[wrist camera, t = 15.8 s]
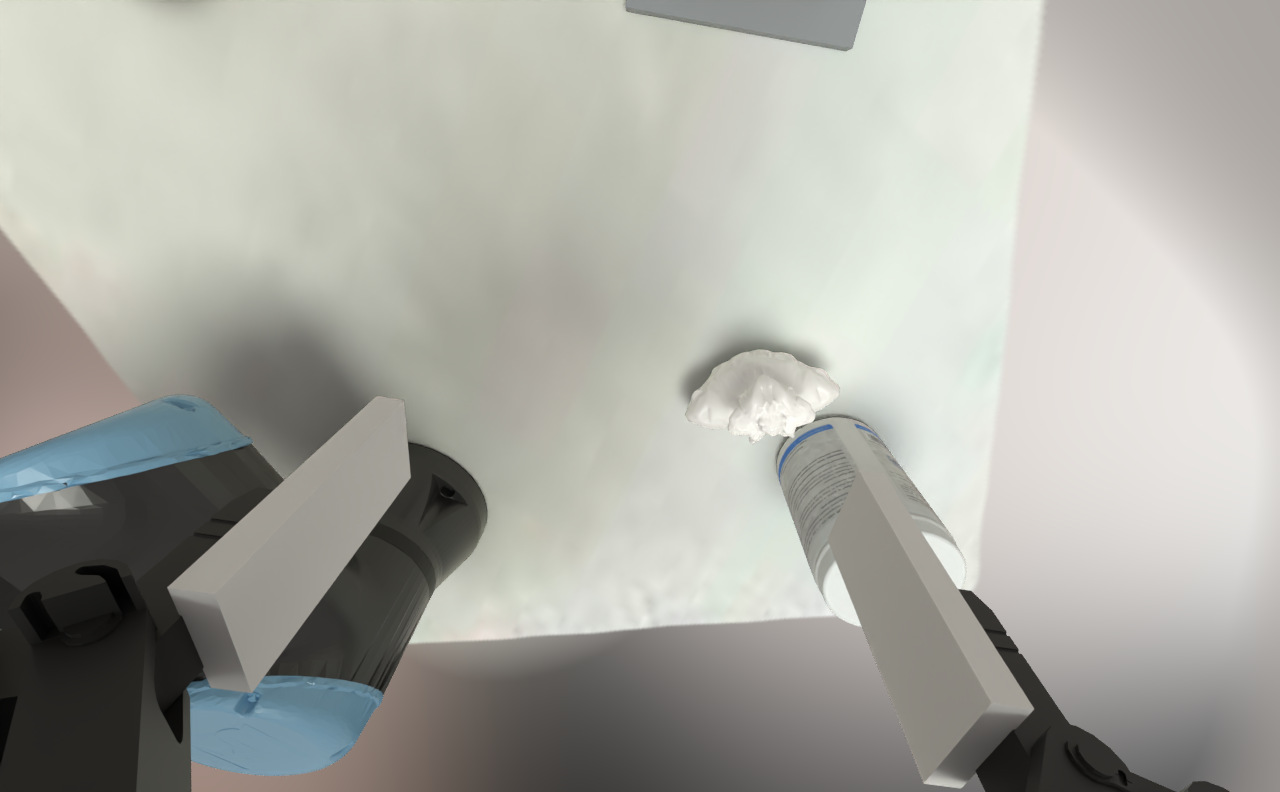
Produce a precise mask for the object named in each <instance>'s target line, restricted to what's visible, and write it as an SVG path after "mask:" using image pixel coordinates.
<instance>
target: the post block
mask: <svg viewBox="0 0 1280 792" xmlns="http://www.w3.org/2000/svg"><path fill="white" fill-rule="evenodd" d="M865 3H866V0H626V10H627V12H633V13H639V14H644V15H650V16H655V17H661V18H666V19H672V20H677V21H683V22H688V23H694V24H699V25H705V26H710V27H716V28H721V29H727V30H732V31H738V32H743V33H749V34H754V35H760V36H765V37H771V38H776V39H782V40H787V41H793V42H799V43H804V44H810V45H815V46H821V47H826V48H832V49H837V50H843V51H847V50H850V49H852V48H853V44H854V41H855V37H856V34H857V31H858V27H859V24H860V20H861V17H862V14H863V10H864V7H865Z"/></svg>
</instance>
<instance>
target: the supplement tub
mask: <svg viewBox="0 0 1280 792" xmlns="http://www.w3.org/2000/svg"><path fill="white" fill-rule="evenodd" d="M794 433H795V435H794V437H793V438H791V437H789V438H788V439H787V441H786V442H785V443H784V445H783V446H782V448H781V450H780V452H779V456H778V459H777V475H778V478H779V481H780V484H781V487H782V490H783V493H784V496H785V499H786V502H787V504H788V507H789V510H790V513H791V516H792V519H793V521H794V524H795V527H796V530H797V533H798V535H799V538H800V541H801V544H802V547H803V549H804V552H805V555H806V558H807V561H808V564H809V566H810V569H811V572H812V574H813V577H814V580H815V582H816V584H817V586H818V588H819V590H820V592H821V593H822V595H823V598H824V600H825V602H826V604H827V606H828V607H829V609H830V610H831V611H832V612H833V613H834V614H835V615H836V616H838V617H839V618H841V619H842V620H844V621H846V622H848V623H850V624H853V625H856V626H860V627H862V626H861V624H860V621H859V619H858V616H857V614H856V611H855V609H854V606H853V603H852V601H851V598H850V596H849V593H848V591H847V588H846V586H845V583H844V581H843V578H842V576H841V573H840V571H839V568H838V566H837V563H836V561H835V558H834V556H833V553H832V550H831V548H830V545H829V543H828V540H827V539H828V537H829V535H830V533H831V530H832V528H833V526H834V524H835V521H836V519H837V517H838V515H839V513H840V510H841V508H842V506H843V504H844V501H845V499H846V497H847V495H848V493H849V490H850V488H851V486H852V484H853V481H854V479H855V477H856V475H857V473H858V470H862V471H868V472H875V473H881V474H885V476H886V477H887V479H888V481H889V482H890V484H891V485H892V487H893V488H894V490H895V491H896V493H897V495H898V496H899V498H900V499H901V501H902V502H903V504H904V506H905V507H906V509H907V510H908V512H909V513H910V515H911V517H912V518H913V520H914V521H915V523H916V524H917V526H918V527H919V529H920V531H921V532H922V534H923V535H924V537H925V538H926V540H927V542H928V543H929V545H930V546H931V548H932V549H933V551H934V553H935V554H936V556H937V557H938V559H939V560H940V562H941V564H942V565H943V567H944V568H945V570H946V571H947V573H948V574H949V576H950V578H951V579H952V581H953V582H954V584H955V585H956V587H957V589H961V588H962V587H963V584H964V581H965V578H966V564H965V560H964V557H963V555H962V553H961V552H960V550H959V549H958V547H957V545H956V542H955V540H954V539H953V537H952V535H951V534H950V533H949V531H948V530H947V529H946V527H945V526H944V525H943V523H942V522H941V520H940V519H939V518H938V516H937V515H936V514H935V512H934V511H933V509H932V508H931V507H930V505H929V504H928V503H927V501H926V500H925V499H924V497H923V496H922V495H921V493H920V492H919V491H918V489H917V488H916V487H915V485H914V484H913V482H912V481H911V480H910V478H909V477H908V476H907V474H906V473H905V472H904V470H903V469H902V468H901V466H900V465H899V464H898V462H897V461H896V460H895V458H894V457H893V456H892V454H891V453H890V451H889V450H888V449H887V447H886V446H885V445H884V443H883V442H882V441H881V439H880V438H879V437H878V435H877V434H876V433H875V432H874V431H873V430H872V429H871V428H870V427H868V426H867V425H865V424H863V423H861V422H859V421H856V420H853V419H849V418H839V417H833V418H826V419H822V420H818V421H815V422H812V423H810V424H807V425H805V426H803V427H802V428H800V429H799V430H797V431H796V432H794Z"/></svg>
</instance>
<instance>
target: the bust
mask: <svg viewBox="0 0 1280 792" xmlns="http://www.w3.org/2000/svg"><path fill="white" fill-rule="evenodd" d="M839 393H840V388H839V386H838V385H837V384H836V383H835V382H834V381H833V380H832V379H830V377H829V376H828V374H827V372H826V371H825V370H823V369H821V368H814V367H810V366H807V365H806V364H804V363H802V362H800V361H797V360H796V359H795V357H794V356H793V355H791V354H788V353H783V352H771V351H769V350H764V349H760V350H753V351H751V352H743V353H740V354H738V355H736V356H734V357H733V358H731V359H730V360H729V361H726V362H724V363H722V364H720V365H718V366H717V367H715V368H714V369H713V370H712V373H711V375H710V377H709V378H708V380H707V381H706V382H705V383H704V384H703V385H702V386H701V387H700V388H699V389H697V390H696V391H695V392H694V393H693V394H692V396H691V402H690V404H689V405H688V406H687V410H686V413H685V416H686V418H687V420H688V421H690V422H692V423H695V424H697V425H700V426H702V427H705V428H709V429H722V428H727V427H728V430H729V432H730V433H731V434H733V435H749V441H750V442H751V444H754V443H755V442H756V441H759V440H760V438H762V437H763V436H764V435H765V433H767V434H769V435H770V436H776V435H777V434H780V435H782V436H784V437H786V436H790V437H791V438H793V437H794V435H795V433H794V432H795V430H796V427H798V426H802V425H805V424H809V423H812V422H813V421H814V419H815V417H816V414H815V412H817V411H819V410H821V409H823V408H824V407H826V406H827V405H829V404H830V403H831V402H832V401H833V400H835V399H836V398H837V397H838V395H839Z"/></svg>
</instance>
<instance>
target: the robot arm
mask: <svg viewBox="0 0 1280 792" xmlns="http://www.w3.org/2000/svg"><path fill="white" fill-rule="evenodd" d="M251 443H253V441H252V439H251V438H250V437H247V436H243V435H242V434H241V433H240V432H239V431H238V430H237V429H236V428H235V427H234V426H233V425H232V424H231V423H230V422H229V421H228V420H227V419H226V418H225V417H224V416H223V415H222V414H221V413H220V412H219V411H218V410H217V409H216V408H214V407H213V406H212V405H211V404H210V403H208V402H207V401H205V400H203V399H201V398H198V397H195V396H190V395H171V396H166V397H163V398H159V399H157V400H154V401H151V402H149V403H146V404H143V405H141V406H138V407H135V408H133V409H130V410H127V411H125V412H122V413H119V414H117V415H114V416H111V417H109V418H106V419H104V420H101V421H98V422H96V423H93V424H90V425H87V426H85V427H82V428H80V429H77V430H74V431H71V432H69V433H66V434H64V435H61V436H58V437H55V438H53V439H50V440H47V441H45V442H42V443H39V444H37V445H34V446H31V447H29V448H26V449H24V450H21V451H18V452H16V453H13V454H10V455H8V456H5V457H3V458H0V792H191V761H193V762H196V763H199V764H202V765H206V766H209V767H213V768H217V769H221V770H226V771H231V772H237V773H244V774H253V775H264V776H281V775H282V776H284V775H296V774H303V773H309V772H313V771H317V770H320V769H323V768H325V767H327V766H330V765H331V764H333V763H335V762H336V761H338V760H339V759H341V758H342V757H343V756H345V754H347V753H348V752H349V750H350V749H351V748H352V747H353V746H354V744H355V743H356V741H357V739H358V738H359V736H360V734H361V732H362V731H363V729H364V727H365V725H366V723H367V722H368V720H369V718H370V717H371V715H372V713H373V712H374V710H375V709H376V708H377V707H378V706H379V705H380V703H381V702H382V699H383V694H384V692H385V690H386V688H387V686H388V684H389V682H390V680H391V678H392V676H393V674H394V672H395V670H396V668H397V666H398V664H399V661H400V660H401V657H402V655H403V653H404V651H405V649H406V647H407V645H408V643H409V641H410V639H411V637H412V635H413V633H414V631H415V629H416V627H417V625H418V623H419V621H420V618H421V616H422V614H423V612H424V610H425V608H426V606H427V604H428V602H429V600H430V598H431V596H432V594H433V592H434V590H435V589H436V588H437V587H438V586H439V585H440V584H441V583H442V582H443V581H444V580H445V579H446V578H447V577H448V576H449V575H450V574H451V573H452V572H453V571H454V570H456V569H457V568H458V567H459V566H460V565H461V564H462V563H463V562H464V561H465V560H466V559H467V558H468V557H469V556H470V555H471V553H472V552H473V551H474V549H475V548H476V546H477V544H478V542H479V540H480V537H481V535H482V533H483V531H484V528H485V525H486V520H487V509H486V504H485V500H484V497H483V495H482V493H481V491H480V489H479V487H478V486H477V484H476V483H475V481H474V480H473V479H472V478H471V476H470V475H469V474H468V473H467V472H466V471H465V470H464V469H463V468H461V467H460V466H459V465H458V464H456V463H455V462H454V461H452V460H451V459H449V458H448V457H446V456H444V455H442V454H440V453H438V452H436V451H434V450H431V449H429V448H426V447H423V446H419V445H415V444H410V443H408V439H407V427H406V415H405V403H404V400H401V399H395V398H388V397H382V396H376V397H375V398H374V399H373V400H372V401H371V402H369V403H368V404H367V405H366V406H365V407H364V408H363V409H362V410H361V411H360V412H359V413H357V414H356V415H355V416H354V417H353V418H352V419H351V420H350V421H349V422H348V423H347V424H345V425H344V426H343V427H342V428H341V429H340V430H339V431H338V432H337V433H336V434H334V435H333V436H332V437H331V438H330V439H329V440H328V441H327V442H326V443H325V444H324V445H322V446H321V447H320V448H319V449H318V450H317V451H316V452H315V453H314V454H313V455H312V456H310V457H309V458H308V459H307V460H306V461H305V462H304V463H303V464H302V465H301V466H300V467H298V468H297V469H296V470H295V471H294V472H293V473H292V474H291V475H290V476H289V477H287V478H286V479H285V480H284V479H283V478H282V477H281V476H280V475H279V474H278V473H277V472H276V471H275V470H274V468H273V467H272V466H271V465H270V464H269V463H268V462H267V461H266V460H265V459H264V458H263V456H262V455H261V454H260V453H259V452H258V451H257V450H256V449H255V448H254V447H253V445H252V444H251ZM827 540H828V543H829V545H830V548H831V550H832V553H833V556H834V558H835V561H836V563H837V566H838V568H839V571H840V573H841V576H842V578H843V581H844V583H845V586H846V588H847V591H848V593H849V596H850V598H851V601H852V603H853V606H854V609H855V611H856V614H857V616H858V619H859V621H860V624H861V626H862V629H863V631H864V634H865V636H866V639H867V641H868V644H869V646H870V649H871V651H872V654H873V656H874V659H875V662H876V664H877V667H878V669H879V672H880V674H881V677H882V679H883V682H884V684H885V687H886V689H887V692H888V694H889V697H890V699H891V702H892V705H893V707H894V710H895V712H896V714H897V717H898V720H899V722H900V725H901V727H902V730H903V732H904V735H905V737H906V740H907V742H908V745H909V747H910V750H911V752H912V755H913V758H914V760H915V763H916V765H917V768H918V770H919V772H920V775H921V778H922V780H923V783H924V784H931V785H939V786H946V787H954V788H962V787H963V786H964V785H965V784H966V783H967V782H968V780H970V778H971V777H972V776H973V775H974V774H975V773H977V775H978V777H979V779H980V781H981V783H982V785H983V787H984V790H985V791H986V792H1175V791H1173V790H1170V789H1168V788H1166V787H1164V786H1161V785H1159V784H1157V783H1154V782H1152V781H1149V780H1147V779H1145V778H1143V777H1140V776H1138V775H1136V774H1134V773H1131V772H1130V771H1129V770H1128V768H1127V767H1126V765H1125V764H1124V763H1123V762H1122V760H1121V759H1120V758H1119V757H1118V756H1117V755H1116V754H1115V753H1114V752H1113V751H1112V750H1111V749H1110V748H1109V747H1108V746H1106V745H1105V744H1104V743H1103V742H1101V741H1100V740H1098V739H1097V738H1096V737H1095V736H1094V735H1092V734H1090V733H1088V732H1086V731H1084V730H1082V729H1081V728H1079V727H1077V726H1073V725H1070V724H1069V723H1068V721H1067V720H1066V719H1065V717H1064V716H1063V714H1062V713H1061V711H1060V710H1059V709H1058V707H1057V705H1056V704H1055V703H1054V701H1053V699H1052V698H1051V697H1050V695H1049V694H1048V692H1047V691H1046V689H1045V688H1044V686H1043V685H1042V684H1041V682H1040V681H1039V679H1038V677H1037V676H1036V675H1035V673H1034V672H1033V670H1032V669H1031V667H1030V666H1029V664H1028V663H1027V661H1026V660H1025V658H1024V657H1023V655H1022V654H1019V653H1018V648H1017V647H1016V645H1015V644H1014V642H1013V641H1012V639H1011V638H1010V637H1009V636H1007V635H1006V630H1005V629H1004V628H1003V626H1002V625H1001V623H1000V622H999V620H998V619H997V617H996V616H995V615H994V613H993V612H992V610H991V609H989V607H987V606H986V605H985V604H984V603H983V602H982V601H981V600H980V599H979V598H978V597H977V596H976V595H975V594H974V593H973V592H972V591H968V590H961V589H957V587H956V585H955V584H954V582H953V581H952V579H951V578H950V576H949V574H948V573H947V571H946V570H945V568H944V567H943V565H942V564H941V562H940V560H939V559H938V557H937V556H936V554H935V553H934V551H933V549H932V548H931V546H930V545H929V543H928V542H927V540H926V538H925V537H924V535H923V534H922V532H921V531H920V529H919V527H918V526H917V524H916V523H915V521H914V520H913V518H912V517H911V515H910V513H909V512H908V510H907V509H906V507H905V506H904V504H903V502H902V501H901V499H900V498H899V496H898V495H897V493H896V491H895V490H894V488H893V487H892V485H891V484H890V482H889V481H888V479H887V477H886V476H885V474H881V473H875V472H868V471H862V470H858V473H857V475H856V477H855V479H854V481H853V484H852V486H851V488H850V490H849V493H848V495H847V497H846V499H845V501H844V504H843V506H842V508H841V510H840V513H839V515H838V517H837V519H836V521H835V524H834V526H833V528H832V530H831V533H830V535H829V537H828V539H827ZM1180 792H1229V791H1228V790H1226V789H1224V788H1222V787H1219V786H1217V785H1214V784H1211V783H1209V782H1205V781H1201V782H1200V781H1199V782H1192V783H1191V784H1189V785H1188V786H1187V787H1185V788H1184V789H1183V790H1181V791H1180Z"/></svg>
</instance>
